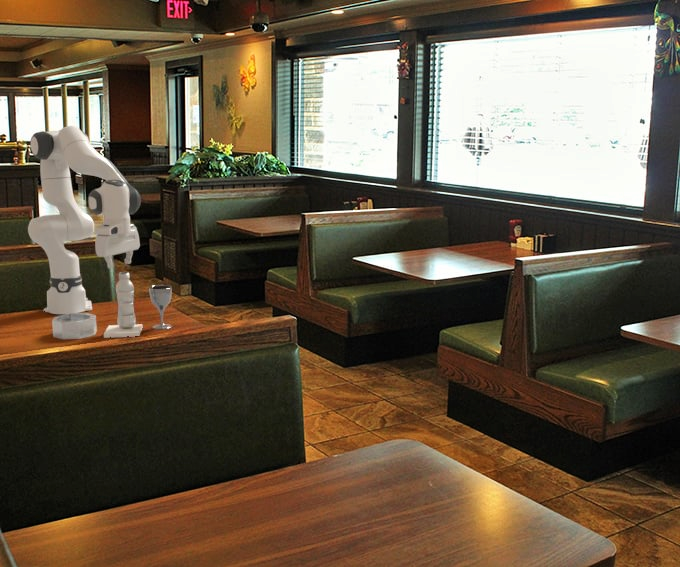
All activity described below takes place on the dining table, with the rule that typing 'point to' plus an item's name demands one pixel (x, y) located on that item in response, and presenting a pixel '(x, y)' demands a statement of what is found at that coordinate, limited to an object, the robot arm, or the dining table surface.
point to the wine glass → (161, 301)
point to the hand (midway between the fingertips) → (119, 265)
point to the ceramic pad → (123, 331)
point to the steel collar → (74, 326)
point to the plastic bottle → (125, 301)
